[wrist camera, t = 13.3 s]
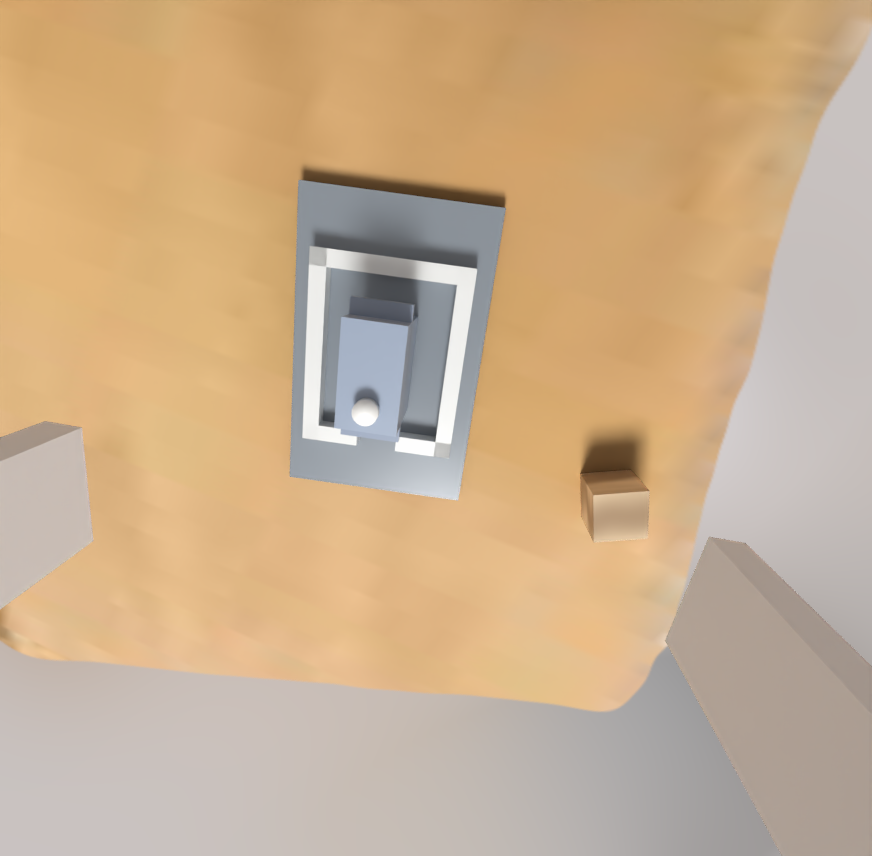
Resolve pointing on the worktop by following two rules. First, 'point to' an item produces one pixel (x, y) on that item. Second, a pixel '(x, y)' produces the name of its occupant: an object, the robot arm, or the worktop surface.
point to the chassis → (435, 338)
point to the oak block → (614, 505)
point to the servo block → (375, 368)
